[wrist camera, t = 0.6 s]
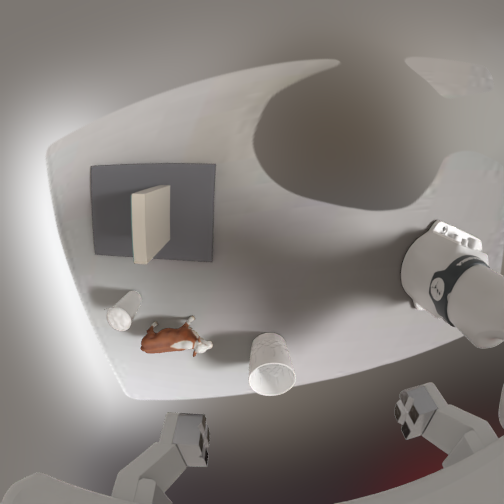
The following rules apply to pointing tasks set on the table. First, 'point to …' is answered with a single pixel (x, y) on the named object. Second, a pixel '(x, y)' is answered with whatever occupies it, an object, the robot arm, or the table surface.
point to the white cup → (270, 365)
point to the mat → (181, 207)
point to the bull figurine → (174, 340)
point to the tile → (150, 222)
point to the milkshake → (124, 311)
